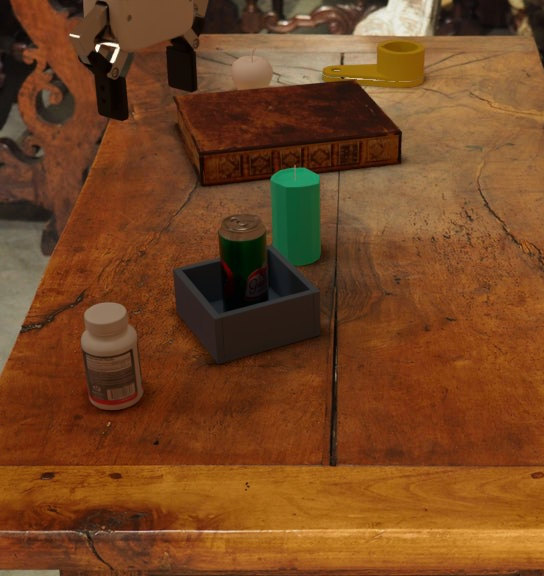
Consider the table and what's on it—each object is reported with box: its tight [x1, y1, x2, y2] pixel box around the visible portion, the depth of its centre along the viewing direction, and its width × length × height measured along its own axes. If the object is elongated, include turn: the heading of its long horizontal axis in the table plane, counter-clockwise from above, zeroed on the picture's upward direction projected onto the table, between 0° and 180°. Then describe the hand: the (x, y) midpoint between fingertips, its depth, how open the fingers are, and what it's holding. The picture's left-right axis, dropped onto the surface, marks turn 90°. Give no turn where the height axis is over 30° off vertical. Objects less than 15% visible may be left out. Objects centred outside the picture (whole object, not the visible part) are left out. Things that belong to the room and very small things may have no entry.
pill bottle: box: [80, 302, 144, 411], centre depth 104 cm, size 5×5×10 cm
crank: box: [322, 39, 426, 89], centre depth 190 cm, size 18×8×6 cm, turn 91°
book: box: [172, 80, 403, 187], centre depth 163 cm, size 30×24×5 cm
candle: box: [269, 165, 322, 267], centre depth 130 cm, size 6×6×12 cm
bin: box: [172, 244, 322, 365], centre depth 118 cm, size 12×12×6 cm
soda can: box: [217, 213, 269, 313], centre depth 116 cm, size 5×5×12 cm
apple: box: [230, 47, 274, 90], centre depth 182 cm, size 7×7×8 cm
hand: (149, 102), depth 101 cm, fingers open, 9 cm apart
